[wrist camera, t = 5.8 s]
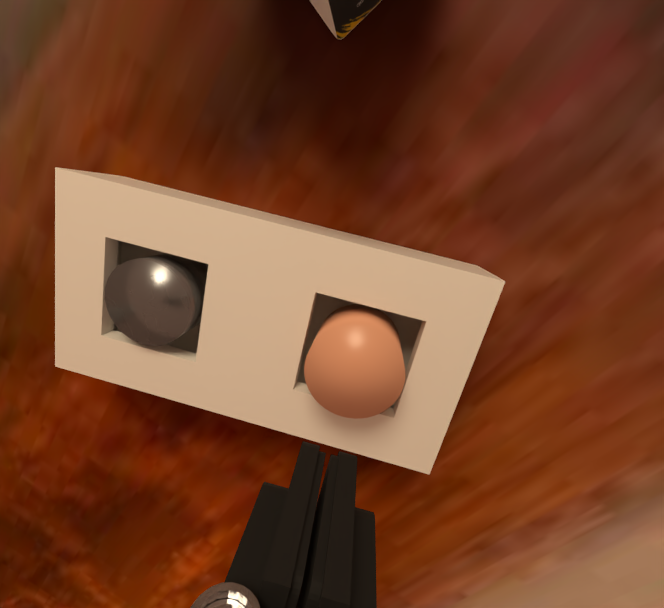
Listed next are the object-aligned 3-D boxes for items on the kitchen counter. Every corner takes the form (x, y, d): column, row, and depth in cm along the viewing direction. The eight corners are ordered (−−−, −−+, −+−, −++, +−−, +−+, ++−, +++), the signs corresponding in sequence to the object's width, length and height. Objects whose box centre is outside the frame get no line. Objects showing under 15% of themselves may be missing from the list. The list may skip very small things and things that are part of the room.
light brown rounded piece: (410, 316, 20) (418, 341, 16) (387, 390, 21) (389, 429, 18) (327, 294, 20) (316, 314, 16) (309, 369, 22) (295, 403, 18)
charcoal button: (225, 261, 22) (194, 272, 18) (215, 332, 24) (183, 355, 20) (152, 242, 22) (106, 248, 19) (146, 313, 24) (102, 333, 20)
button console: (477, 265, 22) (505, 281, 17) (419, 423, 25) (429, 474, 20) (122, 176, 23) (55, 167, 18) (113, 337, 26) (55, 366, 22)
